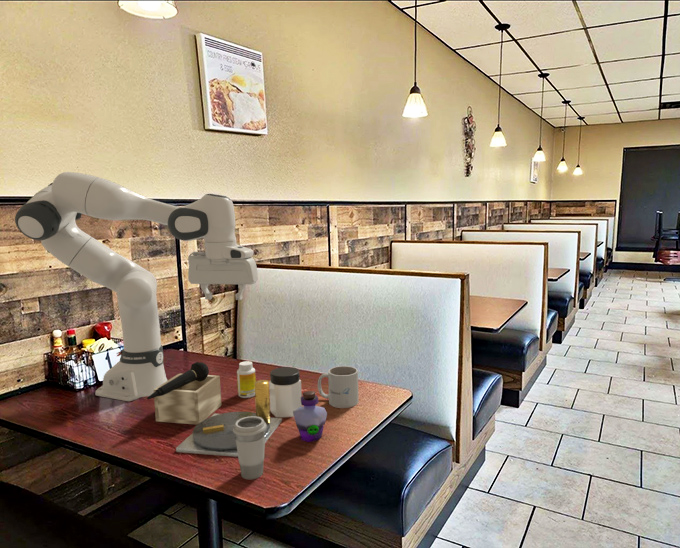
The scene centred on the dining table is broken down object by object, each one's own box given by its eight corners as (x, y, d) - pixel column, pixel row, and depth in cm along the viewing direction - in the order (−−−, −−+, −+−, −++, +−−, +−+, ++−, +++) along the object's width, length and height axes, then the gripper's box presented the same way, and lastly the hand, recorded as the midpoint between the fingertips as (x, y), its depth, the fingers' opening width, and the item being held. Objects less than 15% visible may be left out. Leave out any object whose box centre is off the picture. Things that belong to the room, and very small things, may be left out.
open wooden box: (155, 421, 132) (153, 389, 130) (181, 402, 144) (179, 373, 143) (199, 424, 129) (197, 392, 128) (221, 405, 141) (219, 375, 140)
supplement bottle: (259, 395, 148) (258, 363, 147) (243, 400, 145) (241, 367, 143) (250, 390, 153) (249, 359, 151) (234, 395, 149) (233, 363, 148)
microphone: (155, 393, 122) (213, 363, 138) (140, 385, 125) (199, 356, 141) (155, 411, 124) (213, 379, 140) (140, 403, 126) (199, 372, 143)
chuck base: (176, 451, 115) (176, 447, 115) (214, 416, 134) (214, 413, 134) (253, 459, 110) (253, 455, 110) (281, 421, 129) (281, 418, 129)
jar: (306, 414, 134) (304, 373, 132) (279, 421, 130) (277, 379, 128) (293, 403, 141) (291, 364, 140) (267, 409, 138) (265, 369, 136)
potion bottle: (305, 450, 114) (303, 402, 112) (286, 437, 121) (285, 391, 119) (335, 440, 119) (333, 393, 117) (315, 427, 126) (314, 383, 124)
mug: (364, 401, 142) (363, 369, 140) (347, 412, 135) (347, 378, 133) (330, 393, 149) (329, 362, 147) (312, 403, 142) (311, 370, 140)
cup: (243, 487, 99) (240, 432, 98) (230, 473, 105) (227, 421, 103) (274, 475, 103) (272, 422, 102) (260, 463, 109) (257, 412, 107)
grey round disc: (194, 455, 110) (190, 407, 108) (191, 421, 128) (188, 379, 126) (277, 441, 116) (275, 394, 114) (264, 410, 134) (262, 369, 132)
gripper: (182, 252, 137) (185, 300, 138) (250, 252, 132) (252, 302, 134) (193, 250, 143) (196, 296, 145) (258, 250, 138) (260, 297, 140)
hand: (223, 299), depth 139 cm, fingers open, 8 cm apart
